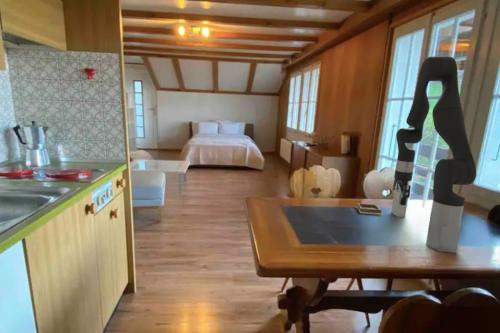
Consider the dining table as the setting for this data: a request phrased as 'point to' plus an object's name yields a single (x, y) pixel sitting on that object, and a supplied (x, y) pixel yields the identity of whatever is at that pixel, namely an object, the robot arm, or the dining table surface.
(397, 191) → the skincare box
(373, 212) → the open birch box
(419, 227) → the dining table surface
